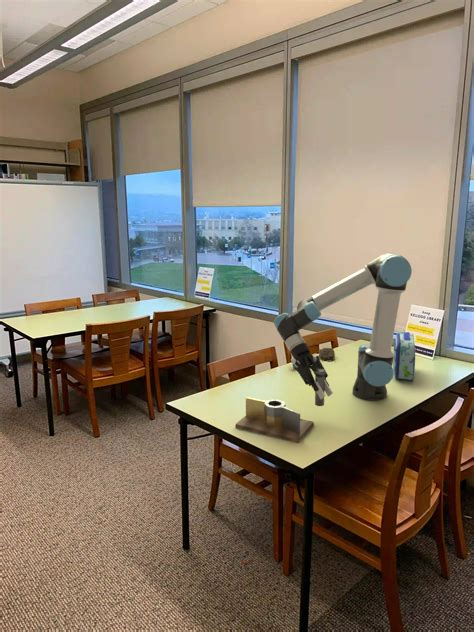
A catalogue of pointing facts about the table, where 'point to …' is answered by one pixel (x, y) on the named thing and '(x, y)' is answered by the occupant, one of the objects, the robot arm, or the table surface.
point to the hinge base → (274, 429)
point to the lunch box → (404, 356)
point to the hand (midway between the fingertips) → (326, 396)
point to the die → (293, 360)
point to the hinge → (273, 414)
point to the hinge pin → (320, 379)
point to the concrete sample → (327, 354)
